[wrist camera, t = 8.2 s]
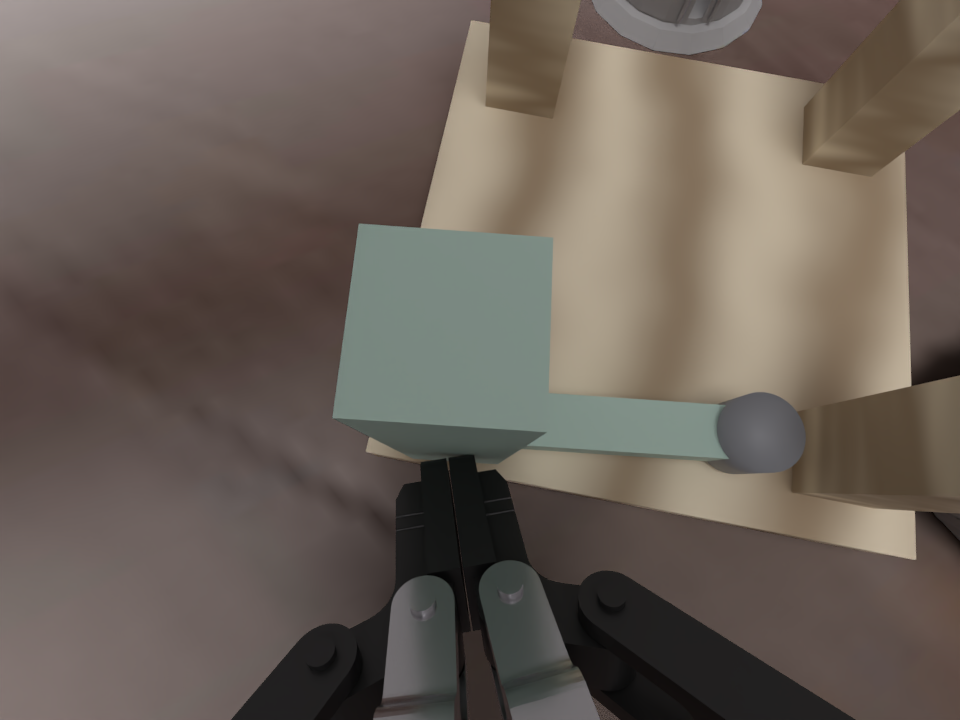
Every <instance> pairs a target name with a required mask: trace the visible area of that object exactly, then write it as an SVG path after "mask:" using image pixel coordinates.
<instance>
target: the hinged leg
mask: <svg viewBox="0 0 960 720" xmlns="http://www.w3.org/2000/svg"><path fill="white" fill-rule="evenodd" d="M552 261H553V237H539V236H525V235H511V234H497V233H483V232H469V231H455V230H441V229H427V228H413V227H399V226H385V225H371V224H359V227H358V234H357V242H356V249H355V256H354V263H353V271H352V278H351V285H350V293H349V300H348V307H347V315H346V322H345V329H344V337H343V344H342V351H341V358H340V366H339V373H338V380H337V388H336V395H335V402H334V410H333V417H332V418H334V419H336V420H338V421H339V422H341V423H343V424H345V425H347V426H349V427H351V428H353V429H355V430H357V431H359V432H361V433H363V434H365V435H367V436H369V437H371V438H373V439H375V440H377V441H379V442H381V443H383V444H385V445H387V446H389V447H391V448H393V449H395V450H397V451H399V452H401V453H403V454H405V455H407V456H409V457H410V458H412V459H424V460H437V459H443V458H446V459H447V461H449V460H448V458H449V457H456V456H462V455H474V457H475V462H476V463H485V464H499V463H500V462H502V461H503V460H505V459H506V458H508V457H510V456H511V455H513V454H514V453H516V452H517V451H519V450H521V449H529V450H545V451H560V452H575V453H590V454H605V455H620V456H635V457H651V458H666V459H681V460H696V461H707V462H708V463H709V464H710V465H711V466H712V467H714V468H715V469H717V470H719V471H721V472H724V473H728V474H755V473H776V472H781V471H785V470H787V469H789V468H790V467H792V466H793V465H794V464H796V463H797V461H798V460H799V459H800V457H801V456H802V454H803V451H804V448H805V443H806V433H805V428H804V425H803V422H802V420H801V418H800V416H799V414H798V413H797V411H796V410H795V409H794V408H793V407H792V405H790V404H789V403H788V402H787V401H785V400H784V399H782V398H781V397H779V396H776V395H774V394H771V393H766V392H755V393H750V394H747V395H744V396H741V397H737V398H734V399H731V400H728V401H725V402H722V403H719V404H703V403H688V402H673V401H659V400H644V399H629V398H614V397H599V396H585V395H570V394H555V393H549V364H550V330H551V295H552Z"/></svg>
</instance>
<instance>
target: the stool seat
mask: <svg viewBox="0 0 960 720" xmlns="http://www.w3.org/2000/svg"><path fill="white" fill-rule="evenodd" d="M580 2H581V0H491V10H490V23H484V22H479V21H473V20H471V24H470V28H469V32H468V36H467V40H466V44H465V48H464V53H463V57H462V61H461V65H460V69H459V73H458V77H457V81H456V85H455V89H454V93H453V97H452V101H451V106H450V110H449V114H448V118H447V122H446V126H445V130H444V134H443V138H442V142H441V146H440V150H439V155H438V159H437V163H436V167H435V171H434V175H433V179H432V183H431V187H430V191H429V195H428V199H427V203H426V208H425V212H424V216H423V220H422V224H421V228H427V229H441V230H455V231H469V232H483V233H497V234H511V235H525V236H539V237H553V261H552V295H551V330H550V364H549V393H555V394H570V395H585V396H599V397H614V398H629V399H644V400H659V401H673V402H688V403H703V404H719V403H722V402H725V401H728V400H731V399H734V398H737V397H741V396H744V395H747V394H750V393H755V392H766V393H771V394H774V395H776V396H779V397H781V398H782V399H784V400H785V401H787V402H788V403H789V404H790V405H792V407H793V408H794V409H795V410H796V411H797V413H798V414H799V416H800V418H801V420H802V422H803V425H804V428H805V433H806V443H805V448H804V451H803V454H802V456H801V457H800V459H799V460H798V461H797V463H796V464H794V465H793V466H792V467H790V468H789V469H787V470H785V471H781V472H776V473H755V474H728V473H724V472H721V471H719V470H717V469H715V468H714V467H712V466H711V465H710V464H709V463H708V462H707V461H696V460H681V459H666V458H651V457H635V456H620V455H605V454H590V453H575V452H560V451H545V450H529V449H521V450H519V451H517V452H516V453H514V454H513V455H511V456H510V457H508V458H506V459H505V460H503V461H502V462H500V463H499V464H485V463H476V466H477V471H478V472H481V471H487V470H493V469H496V470H497V471H498V472H499V473H500V475H501V476H502V477H503V478H504V479H505V480H506V481H508V482H513V483H518V484H524V485H529V486H534V487H539V488H544V489H549V490H554V491H559V492H564V493H569V494H574V495H579V496H585V497H590V498H595V499H600V500H605V501H610V502H615V503H620V504H625V505H630V506H635V507H640V508H646V509H651V510H656V511H661V512H666V513H671V514H676V515H681V516H686V517H691V518H696V519H701V520H707V521H712V522H717V523H722V524H727V525H732V526H737V527H742V528H747V529H752V530H757V531H762V532H768V533H773V534H778V535H783V536H788V537H793V538H798V539H803V540H808V541H813V542H818V543H823V544H829V545H834V546H839V547H844V548H849V549H854V550H859V551H865V552H871V553H877V554H883V555H889V556H895V557H901V558H907V559H913V560H916V535H915V511H925V512H942V513H959V514H960V376H955V377H950V378H946V379H941V380H937V381H932V382H928V383H923V384H919V385H914V386H911V357H910V321H909V286H908V250H907V214H906V178H905V151H906V150H907V149H909V148H910V147H911V146H913V145H914V144H915V143H917V142H918V141H919V140H921V139H922V138H923V137H925V136H926V135H927V134H928V133H930V132H931V131H932V130H934V129H935V128H936V127H938V126H939V125H940V124H942V123H943V122H944V121H946V120H947V119H948V118H950V117H951V116H952V115H954V114H955V113H956V112H957V111H959V110H960V0H900V1H899V2H898V3H897V4H896V5H895V7H894V8H893V9H892V10H891V11H890V12H889V13H888V14H887V15H886V17H885V18H884V19H883V20H882V21H881V22H880V23H879V24H878V26H877V27H876V28H875V29H874V30H873V31H872V32H871V33H870V34H869V36H868V37H867V38H866V39H865V40H864V41H863V42H862V43H861V44H860V46H859V47H858V48H857V49H856V50H855V51H854V52H853V53H852V54H851V56H850V57H849V58H848V59H847V60H846V61H845V62H844V63H843V65H842V66H841V67H840V68H839V69H838V70H837V71H836V72H835V73H834V75H833V76H832V77H831V78H830V79H829V80H828V81H827V82H826V83H825V84H823V83H817V82H812V81H806V80H801V79H795V78H790V77H784V76H779V75H773V74H767V73H762V72H756V71H751V70H745V69H740V68H734V67H729V66H723V65H717V64H712V63H706V62H701V61H695V60H690V59H684V58H679V57H673V56H667V55H662V54H656V53H651V52H645V51H640V50H634V49H629V48H623V47H617V46H612V45H606V44H601V43H595V42H590V41H584V40H579V39H573V38H572V36H573V31H574V27H575V23H576V19H577V15H578V10H579V6H580ZM366 452H368V453H371V454H374V455H377V456H381V457H386V458H391V459H396V460H401V461H407V462H412V463H417V464H420V463H421V462H424V461H430V460H424V459H412V458H410V457H409V456H407V455H405V454H403V453H401V452H399V451H397V450H395V449H393V448H391V447H389V446H387V445H385V444H383V443H381V442H379V441H377V440H375V439H373V438H371V437H369V440H368V444H367V448H366ZM447 465H448V470H450V467H449V461H447Z"/></svg>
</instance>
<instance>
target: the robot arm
mask: <svg viewBox="0 0 960 720" xmlns="http://www.w3.org/2000/svg"><path fill="white" fill-rule="evenodd" d="M448 460H449V467H450V475H451V482H452V489H453V496H452V490H451V484H450V477H449V471H448V465H447V459H446V458H443V459H437V460H430V461H424V462H421V463H420V465H421V482H415V483H409V484H404V485H403V487H402V489H401V491H400V493H399V495H398V497H397V499H396V584H395V589H394V592H393V595H392V597H391V599H390V600H389V602H388V603H387V605H386V606H385V607H384V608H383V609H382V610H381V611H380V612H379V613H377V614H376V615H375V616H373V617H372V618H370V619H368V620H366V621H364V622H362V623H361V624H359V625H357V626H355V627H353V628H351V629H348V628H347V627H345V626H343V625H340V624H325V625H322V626H319V627H317V628H314V629H313V630H311V631H309V632H308V633H307V634H305V635H304V636H303V637H302V638H301V639H300V640H299V641H298V642H297V643H296V645H295V646H294V647H293V648H292V649H291V650H290V652H289V653H288V654H287V655H286V656H285V657H284V659H283V660H282V661H281V662H280V663H279V664H278V666H277V667H276V668H275V669H274V670H273V671H272V673H271V674H270V675H269V676H268V677H267V678H266V680H265V681H264V682H263V683H262V684H261V686H260V687H259V688H258V689H257V690H256V691H255V693H254V694H253V695H252V696H251V697H250V698H249V700H248V701H247V702H246V703H245V704H244V705H243V707H242V708H241V709H240V710H239V711H238V712H237V714H236V715H235V716H234V717H233V718H232V719H231V720H469V698H468V676H467V664H466V658H465V653H464V644H463V636H462V633H464V632H469V631H471V629H470V622H469V614H468V607H467V599H466V592H465V584H464V577H465V583H466V589H467V595H468V602H469V608H470V614H471V620H472V626H473V631H475V630H480V629H481V632H482V638H483V645H484V651H485V655H486V657H487V660H488V661H489V665H490V669H491V674H492V678H493V682H494V687H495V691H496V695H497V699H498V704H499V708H500V712H501V717H502V720H600V718H599V715H598V713H597V710H596V708H595V705H594V702H593V700H592V697H591V695H592V696H593V697H594V698H595V699H596V700H598V701H599V702H600V703H601V704H602V705H604V706H605V707H606V708H607V709H608V710H610V711H611V712H612V713H613V714H614V715H615V716H617V717H618V718H619V719H620V720H855V719H854V718H852V717H850V716H849V715H847V714H846V713H844V712H842V711H841V710H839V709H838V708H836V707H834V706H833V705H831V704H830V703H828V702H826V701H825V700H823V699H822V698H820V697H818V696H817V695H815V694H814V693H812V692H810V691H809V690H807V689H806V688H804V687H802V686H801V685H799V684H798V683H796V682H794V681H793V680H791V679H790V678H788V677H787V676H785V675H783V674H782V673H780V672H779V671H777V670H775V669H774V668H772V667H771V666H769V665H767V664H766V663H764V662H763V661H761V660H759V659H758V658H756V657H755V656H753V655H751V654H750V653H748V652H747V651H745V650H743V649H742V648H740V647H739V646H737V645H735V644H734V643H732V642H731V641H729V640H727V639H726V638H724V637H723V636H721V635H720V634H718V633H716V632H715V631H713V630H712V629H710V628H708V627H707V626H705V625H704V624H702V623H700V622H699V621H697V620H696V619H694V618H692V617H691V616H689V615H688V614H686V613H684V612H683V611H681V610H680V609H678V608H676V607H675V606H673V605H672V604H670V603H668V602H667V601H665V600H664V599H662V598H660V597H659V596H657V595H656V594H654V593H652V592H651V591H649V590H648V589H646V588H645V587H643V586H641V585H640V584H638V583H637V582H635V581H633V580H632V579H630V578H629V577H627V576H625V575H623V574H620V573H618V572H613V571H600V572H596V573H593V574H591V575H590V576H588V577H587V578H586V579H585V580H584V581H583V582H582V584H581V586H580V585H572V584H564V583H558V582H554V581H551V580H548V579H546V578H544V577H543V576H541V575H540V574H538V573H537V572H536V571H535V570H534V569H533V567H532V566H531V564H530V563H529V561H528V558H527V554H526V551H525V547H524V543H523V540H522V536H521V532H520V529H519V525H518V521H517V518H516V514H515V511H514V507H513V503H512V499H511V496H510V492H509V488H508V485H507V481H506V480H505V479H504V478H503V477H502V476H501V475H500V473H499V472H498V471H497V470H496V469H493V470H487V471H481V472H478V471H477V466H476V462H475V457H474V455H462V456H456V457H449V458H448ZM453 497H454V503H453ZM454 504H455V509H454ZM455 512H456V516H455ZM456 519H457V524H456ZM457 527H458V531H457ZM458 534H459V539H458ZM459 541H460V546H459ZM460 549H461V554H460ZM461 556H462V562H461ZM462 564H463V569H462ZM463 571H464V577H463Z"/></svg>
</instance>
